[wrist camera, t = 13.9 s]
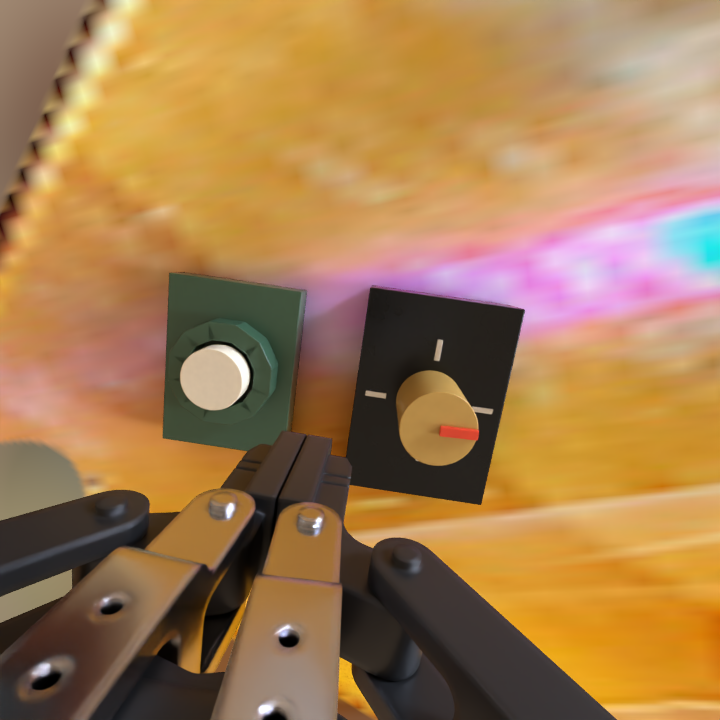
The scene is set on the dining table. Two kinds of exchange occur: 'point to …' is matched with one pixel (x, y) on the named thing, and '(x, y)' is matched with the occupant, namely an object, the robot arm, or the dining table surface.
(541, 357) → the dining table surface
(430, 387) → the knob
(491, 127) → the dining table surface
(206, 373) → the button
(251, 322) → the button block
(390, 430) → the panel
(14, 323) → the dining table surface
